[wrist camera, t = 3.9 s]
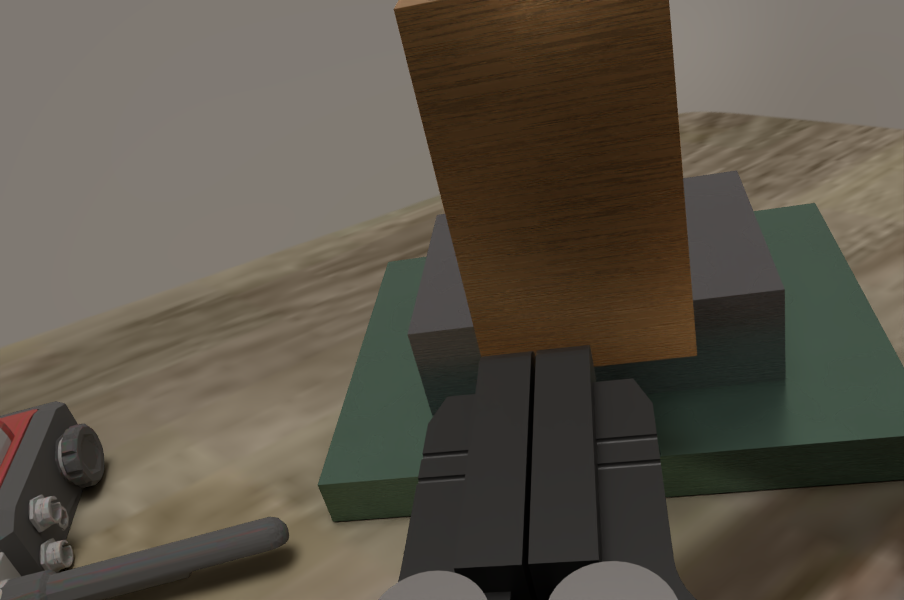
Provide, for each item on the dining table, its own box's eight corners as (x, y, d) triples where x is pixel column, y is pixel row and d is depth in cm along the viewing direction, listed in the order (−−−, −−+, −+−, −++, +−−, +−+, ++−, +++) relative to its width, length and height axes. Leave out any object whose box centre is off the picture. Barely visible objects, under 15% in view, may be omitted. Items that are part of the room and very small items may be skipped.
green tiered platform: (333, 521, 25) (249, 324, 21) (397, 293, 34) (348, 131, 31) (933, 477, 21) (962, 233, 18) (814, 239, 31) (816, 50, 27)
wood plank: (486, 378, 21) (393, 9, 16) (504, 217, 27) (442, -76, 23) (697, 355, 20) (665, -46, 15) (661, 195, 26) (631, -117, 22)
